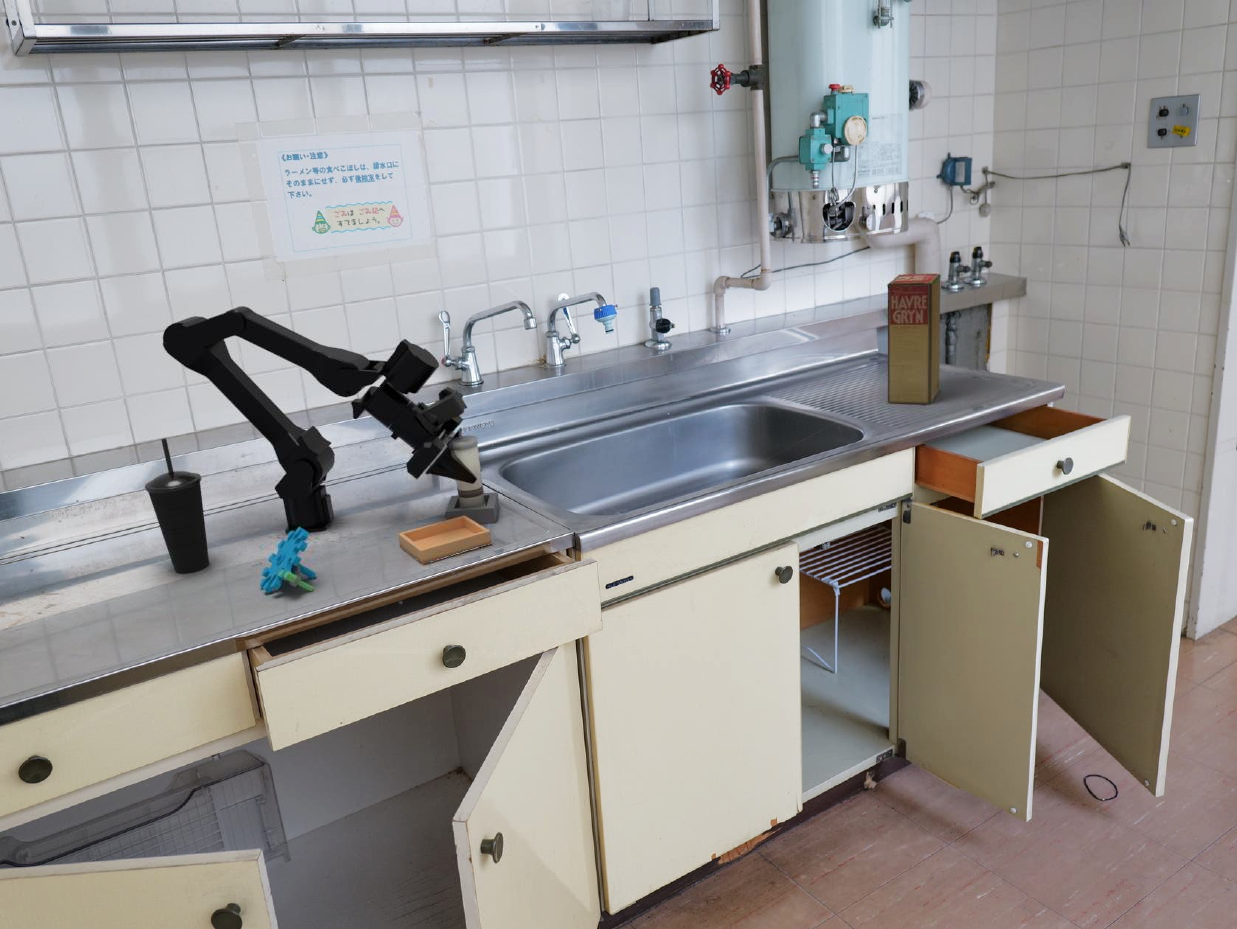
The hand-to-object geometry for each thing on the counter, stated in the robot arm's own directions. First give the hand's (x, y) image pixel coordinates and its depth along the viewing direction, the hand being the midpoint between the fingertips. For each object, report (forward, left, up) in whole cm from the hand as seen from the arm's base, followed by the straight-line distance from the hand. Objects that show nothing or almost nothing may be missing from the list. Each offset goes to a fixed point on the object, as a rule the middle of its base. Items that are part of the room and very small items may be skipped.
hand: (477, 477), depth 158 cm
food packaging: (+87, +52, -7) cm, 101 cm away
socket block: (-1, 0, -7) cm, 7 cm away
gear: (-25, -22, -7) cm, 34 cm away
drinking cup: (-42, -12, -7) cm, 45 cm away
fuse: (-1, 0, -7) cm, 7 cm away
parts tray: (-4, -12, -7) cm, 14 cm away
